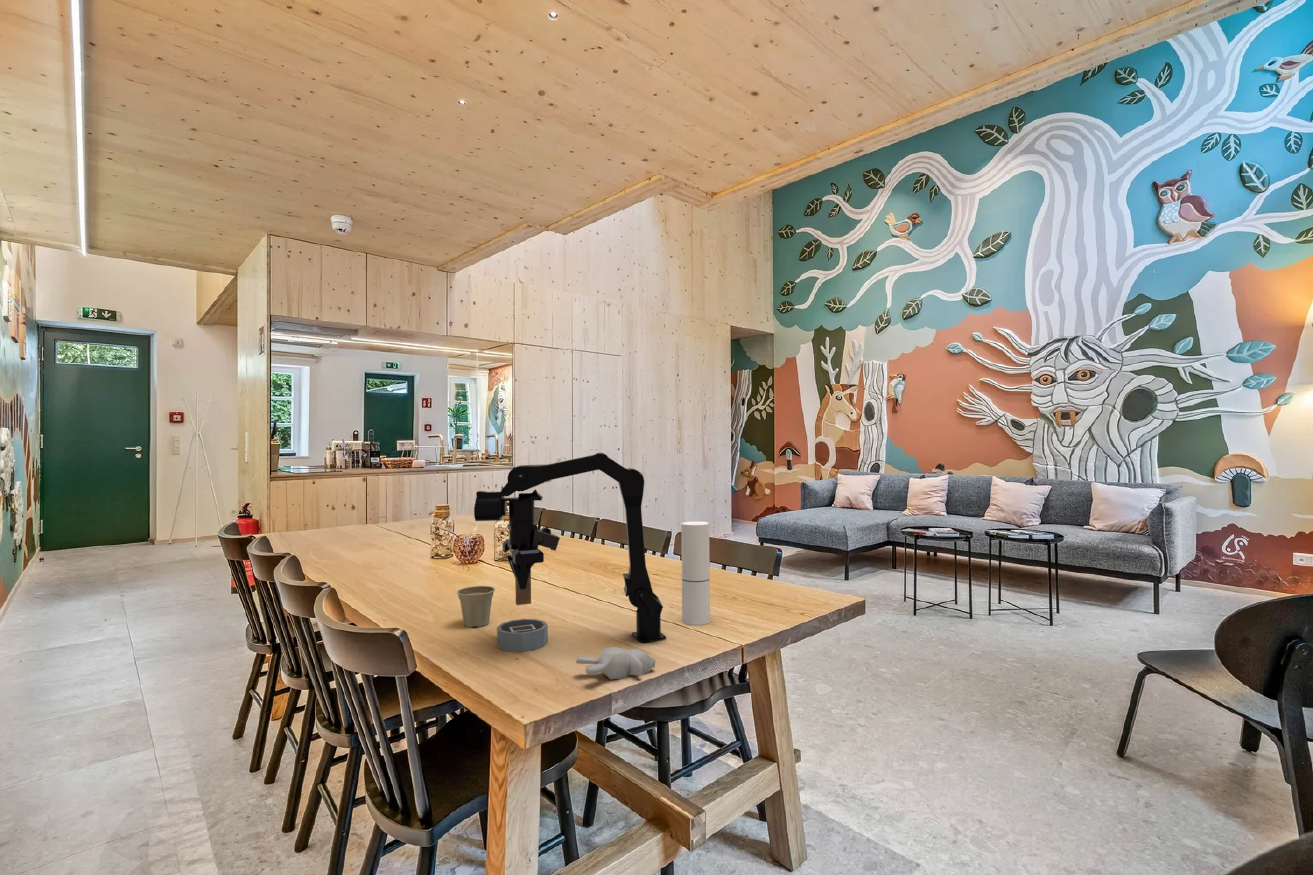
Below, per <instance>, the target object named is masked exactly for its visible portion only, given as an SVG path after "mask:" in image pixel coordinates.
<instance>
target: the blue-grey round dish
mask: <svg viewBox="0 0 1313 875" xmlns="http://www.w3.org/2000/svg"><path fill="white" fill-rule="evenodd" d="M532 624H533V626H534V627H535V628H536V630H534V631H529V632H521V633H519V632H509V627H516V626H524V625H532ZM548 626H549V625H548V623H547V622H546V621H545V620H541V619H537V618H522V619H521V618H520V619H511V620H508V621H505V622H501V623H500V624H499V625H497V627H496V646H497V647H498V649H499V650H501V651H505V652H513V653H515V652H517V653H521V652H522V653H523V652H529V651H535V650H537V649H540V648H543V647H545V646H546V645H547V643H548V642H549V639H548V634H549V632H548V631H549V630H548V629H549V628H548Z"/></svg>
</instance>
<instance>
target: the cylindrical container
mask: <svg viewBox="0 0 1313 875" xmlns="http://www.w3.org/2000/svg"><path fill="white" fill-rule="evenodd" d="M680 525H681V526H680V527H681V530H680V531H681V532H680V533H681V537H680V538H681V539H680V540H681V619H682V620H681V621H682V623H684V624H686V625H691V626H692V625H693V626H702V625H706V624H709V623H710V622H711V594H710V593H711V589H710V588H711V586H710V585H711V584H710V583H711V580H710V578H711V576H710V574H711V573H710V572H711V571H710V568H711V566H710V564H711V563H710V562H711V561H710V522H708V521H700V520H699V521H696V520H695V521H692V520H691V521H684V522H683V521H682V522H681V524H680Z"/></svg>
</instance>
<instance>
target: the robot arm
mask: <svg viewBox="0 0 1313 875" xmlns="http://www.w3.org/2000/svg"><path fill="white" fill-rule="evenodd" d="M595 471H601V472H602V473H604V474H605V475H607V476H608V477H609V478H611V479H613V480H614V481H616V482H617V483H618V487H619V491H620V494H621V495H620V496H621V498H622V501H623V502H622V503H623V505H624V509H625V511H624V512H625V524H626V536H627V537H626V538H627V551H628V559H629V561H628V562H629V566H628V567H629V568H628V573H625V572H624V573H622V576H623V580H624V587H623V590H624V595H625V597H627V598H628V601H629V602H630V605H632V606H633V607H634V608H637V609H636V611H635V612H636V616H635V617H636V621H635V623H636V625H635V626H636V629H635V630H636V631H633V632H631V636H633V638H635V639H636V640H638V642H639V643H646V642H653V641H654V642H655V641H660V640H661V641H662V640H667V636H666V634H664V633H662V626H661V625H662V624H661V623H662V621H661V614H662V611H663V608H664V606H663V604H662V602H661V600H660V597H659V596H658V595H657V594H655V593H654V591H653V588H652V583H651V580H650V576H649V573H648V569H647V566H646V564H647V563H646V554H645V541H644V540H645V539H644V529H643V528H644V527H643V514H642V503H643V500H644V499H643V497H644V490H645V489H644V488H645V477H644V475H643V474H642V472H640V471H639V470H637V469H635V468H631V467H629V468H625V467H624V466H622V465H621V464H619V463H618V462H617V461H615V460H614V459H612V458H610V457H609V455H607V454H606V453H604V452H597V453H594V454H590V455H586V456H582V457H577V458H572V459H568V460H563V461H558V462H554V463H549V464H548V463H547V464H521V465H517V466H515V467H513V468H511V470H509V472H508V475H507V482H506V483H505V485H504V486H503V487H502V488H501V489H500V491H486V490H478V491H476V494H475V495H476V497H475V503H474V506H473V516H474V517H473V518H474V520H475V521H476V522H497V521H498V522H499V521H502V520H503V517H506V516H507V514H508V524H507V529H508V535H509V536H508V539H507V538H505V540H504V541H503V542H502V544H501V545H502V553H504V554H505V553H506V554H507V553H508V551H509V555H506V560H507V561H508V564H509V566H510V569H511V570H512V573H513V575H514V576H513V577H515V575H516V578H517V581H518V583H519V586H520V589H526V585H527V581H528V577H529V573H530V570H532V567H533V566H534V565H535V564H540V563H542V564H543V563H544V562H545V558H544V556H545V555H544V552H543V551H541V550H540V549H539V546H540V547H544V548H547V549H550V550H551V551H553V552H554V551H555V552H556V550H557V547H558V545H559V542H560V539H561V538H560V537H559V536H557V535H555V534H553V533H552V530H551V529H550V528H548V527H542V528H541V529H539V527H538V525H537V524H535V501H542V500H543V495H541V494H540V492H538V491H537V489H534V490H533V491H532V492H525V491H528V490H530V489H533V488H534V487H537V486H539V485H543V484H544V483H546V482H549V481H552V480H557V479H562V478H567V477H570V476H575V475H580V474H581V475H582V474H585V473H589V472H595ZM515 492H519V493H518V496H516V497H510V496H511V495H513V494H514V493H515Z"/></svg>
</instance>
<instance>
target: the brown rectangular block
mask: <svg viewBox="0 0 1313 875" xmlns="http://www.w3.org/2000/svg"><path fill="white" fill-rule="evenodd" d="M531 570H532V569H531ZM531 570H530V573H529V577H528V581H527V585H526V589H520V586H519V583H518V581H517V578H516V575H515V576H514V579H515V580H514V581H515V589H514V590H515V605H516V606H522V605H531V604H532V582H531V581H532V571H531Z"/></svg>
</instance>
